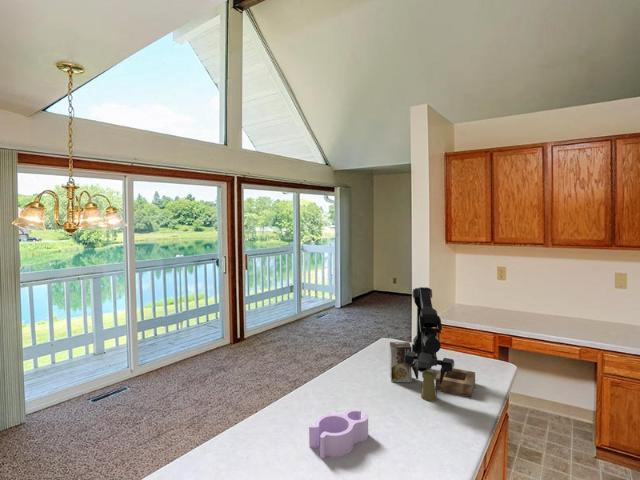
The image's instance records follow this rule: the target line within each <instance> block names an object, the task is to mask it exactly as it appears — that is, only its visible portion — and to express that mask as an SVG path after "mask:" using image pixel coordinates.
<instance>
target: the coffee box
mask: <svg viewBox="0 0 640 480" xmlns="http://www.w3.org/2000/svg"><path fill="white" fill-rule="evenodd" d="M411 347H412V345H411V343H410V342H409V341H408V342H407V341H405V342H404V341H401V342H398V341H396V342H395V341H394V342H393V341H390V342H389V377H390V382H391V383H412V374H413V373H412V371H413V369H412V367H411V366H410V365H408V364H407V363H405V362H404V357H405V355H406V354H407V353H408V352H411Z"/></svg>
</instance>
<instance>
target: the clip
mask: <svg viewBox="0 0 640 480" xmlns="http://www.w3.org/2000/svg"><path fill="white" fill-rule="evenodd" d="M368 438H369V415H368V414H363V417H362V409H359V408H354V409H353V408H352V409H348V410H346V411H344V412H343V413H329V414H323V415H321V416H320V417H318V418H317V419H315V421H314V424H309V425H308V439H309V440H308V444H309V445H308V447H309V448H314V449H315V448H320V449H319V453H320V456H319V457H320V459H322V460H323V459H325V458H326V457H333V458H337V457H343V456H346V455H347V454H349V453H350V452H351V451H352V450H353V448H354V446H355V445H356V444H358V443H362V442H365V441H366V440H367V439H368Z"/></svg>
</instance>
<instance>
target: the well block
mask: <svg viewBox="0 0 640 480" xmlns="http://www.w3.org/2000/svg"><path fill="white" fill-rule="evenodd" d="M441 368H442V367H441ZM441 368H439V371H438V373H437V374H436V377H435V390H436V391H441V392H445V393H449V394H454V395H459V396H462V397H469V398H472V395H473V392H474V389H475V386H476V372H475V371H472V370H466V369H460V368H453V370H452V371H449V372H446V373H445V375H444V377H443V380H442V383H441V384H440V375H441Z"/></svg>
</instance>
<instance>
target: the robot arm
mask: <svg viewBox="0 0 640 480" xmlns="http://www.w3.org/2000/svg"><path fill="white" fill-rule="evenodd" d="M411 291H412V292H411V293H412V297H411V298H412V299H413V302H414V304H415V306H416V335H415V337H414V338H413V339H412V341H413V342H412V344H411V352H408V353H407V354H406V355H405V357H404V362H405V363H407V364H408V365H410V366H411V370H412V371H413V373H414V376H415V379H416V380H418V379H419V372H420V371H421V372H423V371H424V370H432V367H437V365H438V366H441V367H442V368H440V369H441V375H440V384H441V383H442V380H443V377H444V375H445V373H446V372H449V371H452V370H453V368H454V367H455V360H454V359H453V358H447V357H443V358H442V359H438V357H437V353H438V352H439V351H440V350H441V347H442V344H441V341H440V340H439V337H438V334H442V330H443V326H442V320H441V318H440V316H439V315H438V313H437V310H436V309H434V308H433V304H432V299H433V290H432V289H431V288H430V287H425V286H424V287H421V286H420V287H415V288H413V289H412V290H411Z"/></svg>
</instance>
